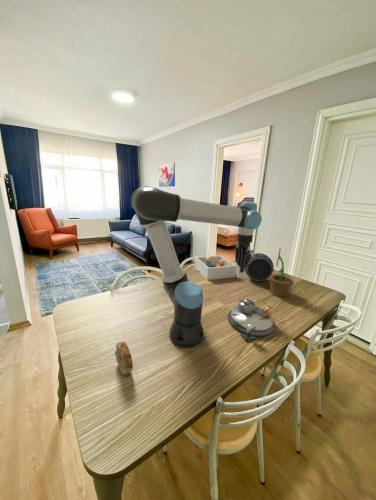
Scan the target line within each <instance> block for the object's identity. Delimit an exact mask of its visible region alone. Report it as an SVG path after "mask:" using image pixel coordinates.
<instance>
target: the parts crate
mask: <svg viewBox="0 0 376 500" xmlns="http://www.w3.org/2000/svg"><path fill="white" fill-rule="evenodd" d="M206 257H210V258H211V263H212V266H214V267H210V268H209V267H207V266H206V265H205V264H204V262H205V259H206ZM220 260H224V261H225V265H226V266H223V267H216V265H217V264H218V263H219V261H220ZM194 269H195V270H196V271H198V270H199V271H200V272H199V271H198V272H199V274H200V275H202V276H203V278H205V279H206V280H207V281H209V280H220V279H221V280H222V279H230V278H236V274H237V264H235V263H233V262H232V261H230V260H228V259H227V258H226V257H224V256H222V255H210V256H209V255H207V256H196V257H195V260H194Z"/></svg>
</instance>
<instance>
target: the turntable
mask: <svg viewBox="0 0 376 500" xmlns="http://www.w3.org/2000/svg"><path fill="white" fill-rule="evenodd" d="M230 311H231V318H232V320H233V321H234V322H235V323H236V324H237V325H238V326H240V327H242V328H244V329H246V327H247V325H248V324H250V323H252V324H254V325H255V330H254V331H255V332H263V331H267V330H269V329H270V328H271V327H272V325H273V321H274V318H273V316H272V312H273V307H272V306H270V305H267V306H266V308H265V309H263V308H261V307H259V306H256V305H255V307H254V313H253V314H251V315H246V314H243V313H241V312H239V311H238V305H236V306H234V307H232V308H231V310H230Z"/></svg>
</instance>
